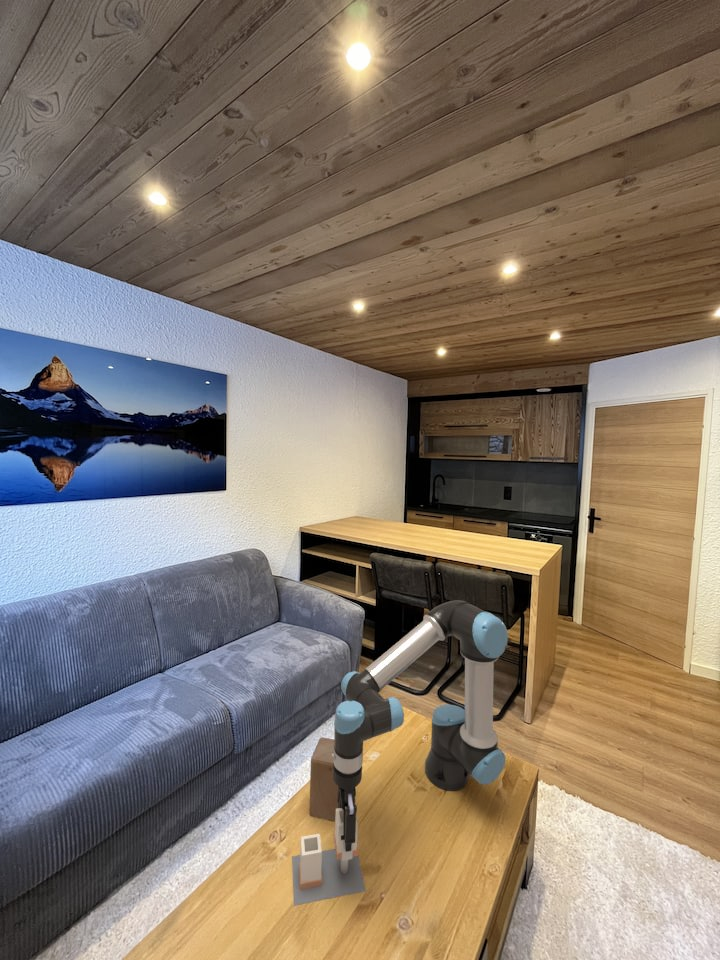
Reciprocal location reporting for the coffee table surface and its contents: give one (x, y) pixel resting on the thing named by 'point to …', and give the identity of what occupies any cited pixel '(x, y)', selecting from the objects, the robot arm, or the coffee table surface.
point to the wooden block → (323, 782)
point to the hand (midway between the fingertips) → (344, 846)
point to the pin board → (329, 879)
